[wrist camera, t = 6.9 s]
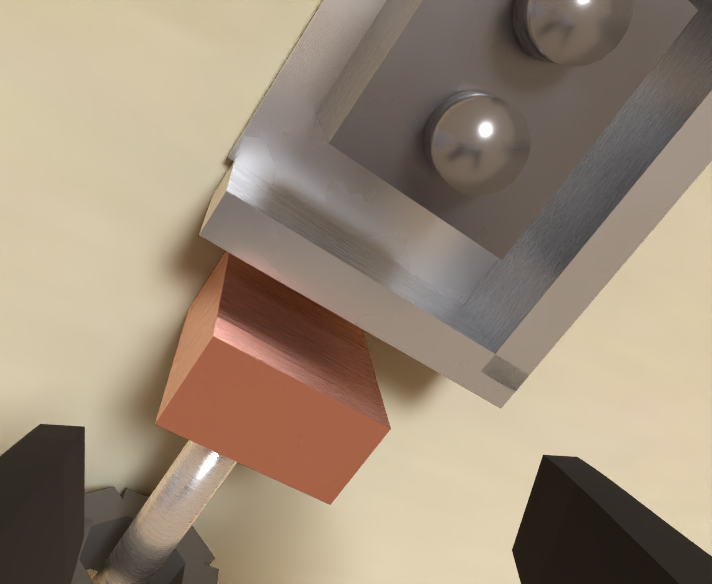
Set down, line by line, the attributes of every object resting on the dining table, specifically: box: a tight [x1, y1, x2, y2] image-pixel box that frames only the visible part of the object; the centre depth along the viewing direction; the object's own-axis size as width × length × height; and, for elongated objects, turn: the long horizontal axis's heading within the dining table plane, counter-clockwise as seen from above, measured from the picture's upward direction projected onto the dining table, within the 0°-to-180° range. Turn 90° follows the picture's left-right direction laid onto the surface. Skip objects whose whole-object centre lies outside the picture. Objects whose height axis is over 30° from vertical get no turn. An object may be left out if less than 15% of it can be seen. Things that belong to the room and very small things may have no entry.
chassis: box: [92, 0, 712, 584], centre depth 16 cm, size 9×26×6 cm, turn 145°
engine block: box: [315, 0, 698, 260], centre depth 14 cm, size 4×6×6 cm
